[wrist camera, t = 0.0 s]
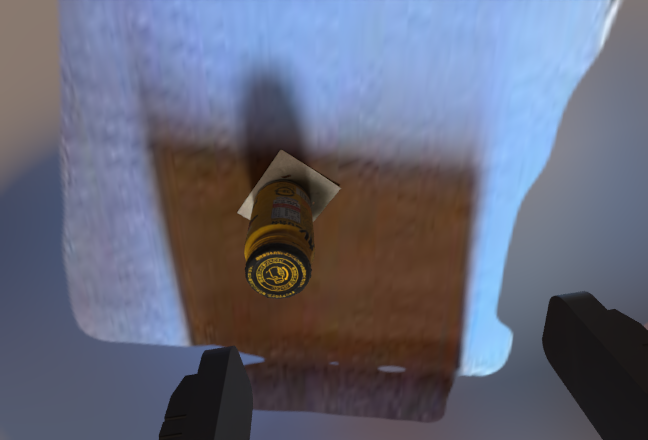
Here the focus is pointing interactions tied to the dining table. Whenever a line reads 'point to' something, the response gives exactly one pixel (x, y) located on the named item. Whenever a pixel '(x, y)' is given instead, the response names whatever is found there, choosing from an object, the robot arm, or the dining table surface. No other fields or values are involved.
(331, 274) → the dining table surface
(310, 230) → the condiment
